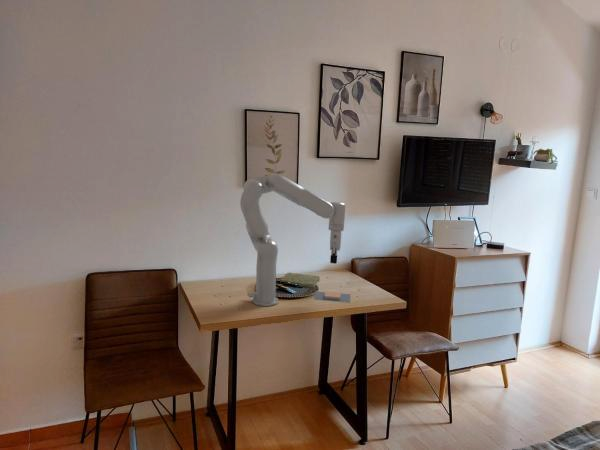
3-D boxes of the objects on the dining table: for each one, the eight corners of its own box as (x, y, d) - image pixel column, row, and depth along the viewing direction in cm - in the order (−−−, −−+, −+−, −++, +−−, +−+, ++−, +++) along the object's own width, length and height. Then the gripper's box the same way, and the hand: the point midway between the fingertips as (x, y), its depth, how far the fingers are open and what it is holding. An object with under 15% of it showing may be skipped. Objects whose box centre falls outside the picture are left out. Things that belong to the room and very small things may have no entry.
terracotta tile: (325, 293, 224) (324, 298, 216) (325, 291, 223) (324, 296, 215) (340, 295, 222) (340, 300, 215) (340, 292, 222) (340, 297, 214)
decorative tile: (286, 277, 255) (286, 271, 255) (319, 280, 251) (320, 274, 251) (278, 286, 237) (278, 280, 237) (314, 290, 233) (314, 283, 233)
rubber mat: (313, 301, 214) (313, 299, 214) (316, 292, 227) (316, 291, 227) (349, 304, 212) (350, 302, 212) (350, 295, 225) (350, 294, 225)
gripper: (343, 230, 206) (340, 267, 209) (344, 225, 220) (341, 260, 223) (327, 228, 207) (324, 265, 210) (329, 224, 221) (327, 258, 224)
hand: (333, 262), depth 217 cm, fingers closed
